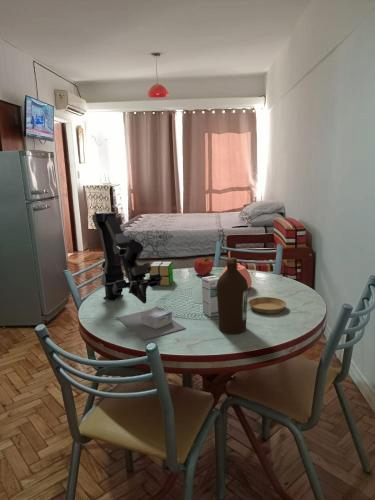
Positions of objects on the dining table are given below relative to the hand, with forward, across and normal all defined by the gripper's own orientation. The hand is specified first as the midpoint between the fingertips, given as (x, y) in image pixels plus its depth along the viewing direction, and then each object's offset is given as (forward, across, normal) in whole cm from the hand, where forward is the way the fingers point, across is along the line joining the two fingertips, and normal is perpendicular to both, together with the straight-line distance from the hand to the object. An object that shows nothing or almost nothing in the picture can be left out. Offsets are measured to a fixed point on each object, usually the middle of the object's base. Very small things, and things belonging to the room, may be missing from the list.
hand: (145, 302), depth 135 cm
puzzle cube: (-23, +28, +35) cm, 51 cm away
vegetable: (-23, +55, +34) cm, 69 cm away
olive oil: (+22, +21, -13) cm, 33 cm away
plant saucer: (+17, +45, -7) cm, 48 cm away
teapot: (-2, +51, +13) cm, 53 cm away
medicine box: (+4, 0, +2) cm, 5 cm away
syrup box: (+11, +24, -1) cm, 27 cm away
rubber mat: (+7, 0, +3) cm, 8 cm away
